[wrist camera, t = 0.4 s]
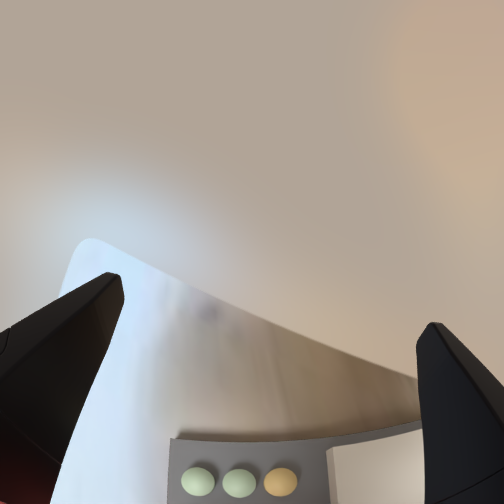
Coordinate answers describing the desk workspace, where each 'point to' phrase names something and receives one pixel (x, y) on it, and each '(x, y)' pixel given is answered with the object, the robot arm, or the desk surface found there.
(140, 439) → the desk surface
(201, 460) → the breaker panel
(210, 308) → the desk surface
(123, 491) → the desk surface
